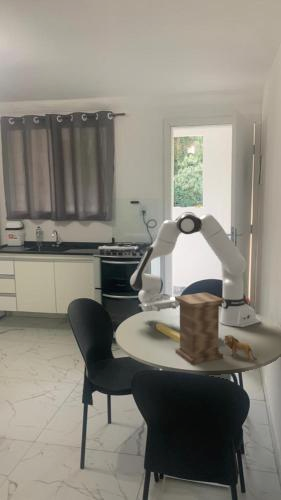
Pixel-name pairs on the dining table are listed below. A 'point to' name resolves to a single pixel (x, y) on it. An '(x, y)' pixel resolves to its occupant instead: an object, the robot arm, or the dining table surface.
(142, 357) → the dining table surface
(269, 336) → the dining table surface
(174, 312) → the dining table surface
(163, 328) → the mustard rod
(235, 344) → the lion figurine
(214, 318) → the walnut pedestal
